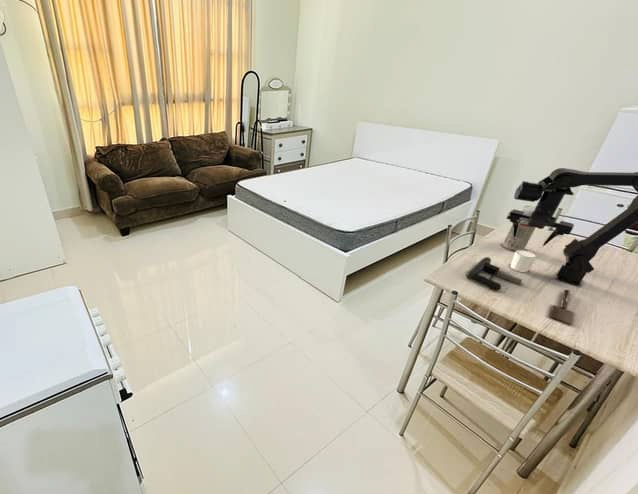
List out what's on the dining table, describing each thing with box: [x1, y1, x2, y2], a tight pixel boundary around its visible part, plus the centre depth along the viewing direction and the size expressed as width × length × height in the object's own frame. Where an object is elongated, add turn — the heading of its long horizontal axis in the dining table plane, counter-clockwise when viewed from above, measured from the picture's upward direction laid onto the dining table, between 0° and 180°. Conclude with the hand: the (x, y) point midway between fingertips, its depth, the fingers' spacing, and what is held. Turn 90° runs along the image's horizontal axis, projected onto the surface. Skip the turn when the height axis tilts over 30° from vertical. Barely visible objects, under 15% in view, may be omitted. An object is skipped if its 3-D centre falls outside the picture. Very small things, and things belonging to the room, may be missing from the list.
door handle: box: [464, 256, 523, 291], centre depth 124 cm, size 3×20×16 cm
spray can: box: [502, 204, 536, 252], centre depth 141 cm, size 8×8×20 cm
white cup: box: [510, 250, 538, 273], centre depth 129 cm, size 7×7×7 cm
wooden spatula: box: [549, 289, 574, 326], centre depth 110 cm, size 5×22×2 cm, turn 134°
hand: (528, 241), depth 125 cm, fingers open, 9 cm apart
